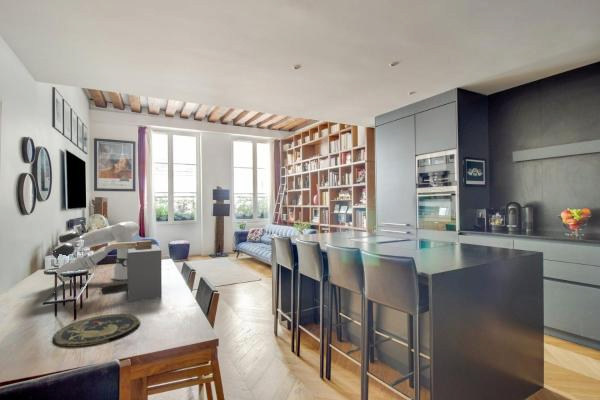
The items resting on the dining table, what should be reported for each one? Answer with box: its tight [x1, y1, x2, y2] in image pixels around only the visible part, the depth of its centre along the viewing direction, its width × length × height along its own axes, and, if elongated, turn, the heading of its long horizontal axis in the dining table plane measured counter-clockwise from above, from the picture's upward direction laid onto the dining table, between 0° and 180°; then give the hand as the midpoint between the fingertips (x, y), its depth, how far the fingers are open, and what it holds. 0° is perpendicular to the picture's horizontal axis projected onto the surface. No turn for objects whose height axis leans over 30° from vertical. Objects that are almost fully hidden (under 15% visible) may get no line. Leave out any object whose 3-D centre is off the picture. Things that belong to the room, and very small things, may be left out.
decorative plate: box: [52, 313, 141, 348], centre depth 127 cm, size 30×2×30 cm
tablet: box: [100, 282, 128, 296], centre depth 193 cm, size 27×1×20 cm
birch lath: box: [110, 241, 137, 250], centre depth 183 cm, size 4×20×3 cm, turn 120°
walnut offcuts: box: [136, 239, 153, 249], centre depth 180 cm, size 6×8×4 cm
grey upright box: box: [126, 244, 163, 303], centre depth 179 cm, size 28×16×26 cm, turn 30°
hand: (114, 245), depth 178 cm, fingers open, 8 cm apart
